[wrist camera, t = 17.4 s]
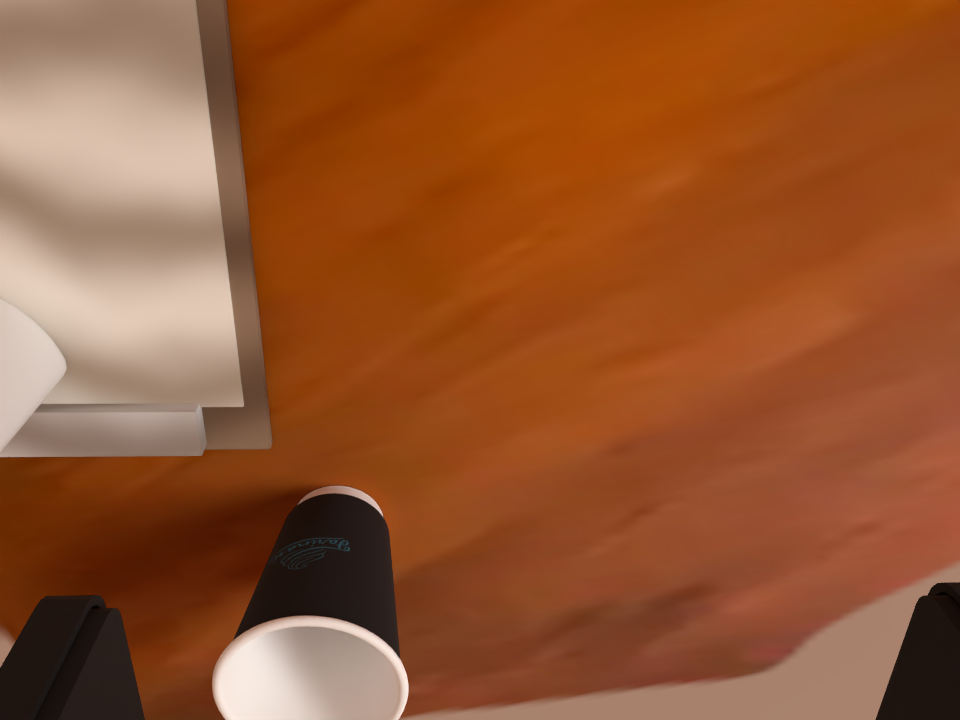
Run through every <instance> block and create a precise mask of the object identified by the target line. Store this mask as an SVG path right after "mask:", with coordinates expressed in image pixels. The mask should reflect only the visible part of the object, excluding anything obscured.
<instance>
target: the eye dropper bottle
mask: <svg viewBox="0 0 960 720" xmlns="http://www.w3.org/2000/svg"><path fill="white" fill-rule="evenodd" d="M66 369H67V366H66V361H65V358H64V356H63V354H62V353H61V351H60V350H59V348H58V347H57V345H56V344H55V343H54V341H53V340H52V339H51V338H50V336H49V335H48V334H47V333H46V332H45V331H44V330H43V329H42V328H41V327H40V326H39V325H38V324H37V323H36V322H35V321H34V320H33V319H31V318H30V317H29V316H28V315H26V314H25V313H24V312H22V311H21V310H19V309H18V308H16V307H15V306H13V305H12V304H10V303H8V302H6V301H4V300H3V299H1V298H0V452H1V451H2V450H3V449H4V447H5V446H6V445H7V444H8V443H9V442H10V441H11V439H12V438H13V437H14V436H15V434H16V433H17V432H18V431H19V430H20V428H21V427H22V426H23V425H24V424H25V422H26V421H27V420H28V419H29V418H30V416H31V415H32V414H33V413H34V412H35V410H36V409H37V408H38V407H39V405H40V404H41V403H42V402H43V401H44V399H45V398H46V397H47V396H48V394H49V393H50V392H51V391H52V390H53V388H54V387H55V386H56V385H57V383H58V382H59V381H60V380H61V378H62V377H63V376H64V374H65V372H66Z"/></svg>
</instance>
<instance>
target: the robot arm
mask: <svg viewBox="0 0 960 720" xmlns="http://www.w3.org/2000/svg"><path fill="white" fill-rule="evenodd" d="M0 720H145V718H144V714H143V709H142V705H141V700H140V696H139V692H138V687H137V683H136V678H135V674H134V670H133V665H132V661H131V657H130V652H129V648H128V643H127V639H126V635H125V630H124V626H123V621H122V617H121V614H120V611H119V610H118V609H117V608H106V605H105V603H104V600H103V599H102V598H101V597H100V596H97V595H85V596H46V597H45V598H43V599H41V601H40V602H39V603H38V605H37V606H36V608H35V609H34V611H33V613H32V614H31V616H30V618H29V620H28V621H27V623H26V625H25V626H24V628H23V630H22V632H21V633H20V635H19V637H18V638H17V640H16V642H15V644H14V645H13V647H12V649H11V651H10V652H9V654H8V656H7V657H6V659H5V661H4V663H3V665H2V666H1V668H0ZM876 720H960V583H937V584H936V585H934V586H933V587H932V588H931V590H930V592H929V593H928V595H927V596H922V597H921V598H919V600H918V601H917V603H916V606H915V609H914V612H913V614H912V617H911V620H910V623H909V626H908V629H907V632H906V635H905V638H904V640H903V643H902V646H901V649H900V652H899V655H898V657H897V660H896V663H895V666H894V669H893V672H892V674H891V677H890V680H889V683H888V686H887V689H886V692H885V694H884V697H883V700H882V703H881V706H880V709H879V711H878V714H877V717H876Z"/></svg>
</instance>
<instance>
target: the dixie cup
mask: <svg viewBox="0 0 960 720" xmlns="http://www.w3.org/2000/svg"><path fill="white" fill-rule="evenodd" d="M212 688H213V695H214V699H215V702H216V705H217V707H218V709H219V711H220V713H221V714H222V716H223V717H224V718H225V720H398V719H399V718H400V716H401V714H402V712H403V710H404V708H405V705H406V702H407V698H408V690H409V689H408V679H407V675H406V672H405V669H404V666H403V664H402V662H401V660H400V652H399V640H398V629H397V618H396V606H395V595H394V583H393V572H392V560H391V549H390V537H389V530H388V526H387V524H386V521H385V520H384V518H383V514H382V511H381V509H380V508H379V506H378V505H377V503H376V502H375V501H374V500H373V499H372V498H371V497H370V496H368V495H367V494H365V493H364V492H362V491H360V490H357V489H354V488H351V487H346V486H327V487H322V488H319V489H316V490H314V491H312V492H310V493H308V494H307V495H306V496H304V497H303V498H302V499H301V500H300V502H299V503H298V504H297V506H296V507H295V508H294V509H293V510H292V511H291V512H290V514H289V515H288V517H287V518H286V520H285V523H284V525H283V527H282V529H281V532H280V534H279V536H278V539H277V541H276V543H275V546H274V548H273V550H272V552H271V555H270V557H269V559H268V562H267V564H266V566H265V568H264V571H263V573H262V575H261V578H260V580H259V582H258V585H257V587H256V589H255V591H254V594H253V596H252V598H251V601H250V603H249V605H248V607H247V610H246V612H245V614H244V617H243V619H242V621H241V624H240V626H239V628H238V630H237V633H236V635H235V637H234V640H233V641H232V642H231V643H230V644H229V645H228V646H227V647H226V649H225V650H224V651H223V653H222V654H221V656H220V657H219V659H218V661H217V663H216V666H215V668H214V673H213V679H212Z"/></svg>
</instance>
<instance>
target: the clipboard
mask: <svg viewBox="0 0 960 720" xmlns="http://www.w3.org/2000/svg"><path fill="white" fill-rule="evenodd" d="M0 298H1V299H3V300H4V301H6V302H8V303H10V304H12V305H13V306H15V307H16V308H18V309H19V310H21V311H22V312H24V313H25V314H26V315H28V316H29V317H30V318H31V319H33V320H34V321H35V322H36V323H37V324H38V325H39V326H40V327H41V328H42V329H43V330H44V331H45V332H46V333H47V334H48V335H49V336H50V338H51V339H52V340H53V341H54V343H55V344H56V345H57V347H58V348H59V350H60V351H61V353H62V354H63V356H64V358H65V361H66V366H67V369H66V372H65V374H64V376H63V377H62V378H61V380H60V381H59V382H58V383H57V385H56V386H55V387H54V388H53V390H52V391H51V392H50V393H49V394H48V396H47V397H46V398H45V399H44V401H43V402H42V403H41V404H40V405H39V407H38V408H37V409H36V410H35V412H34V413H33V414H32V415H31V416H30V418H29V419H28V420H27V421H26V422H25V424H24V425H23V426H22V427H21V428H20V430H19V431H18V432H17V433H16V434H15V436H14V437H13V438H12V439H11V441H10V442H9V443H8V444H7V445H6V446H5V447H4V449H3V450H2V451H1V452H0V457H84V456H202V454H203V452H204V450H205V449H270V448H271V445H272V435H271V425H270V415H269V406H268V396H267V387H266V377H265V367H264V358H263V348H262V339H261V329H260V319H259V310H258V300H257V291H256V281H255V271H254V262H253V252H252V243H251V233H250V223H249V214H248V204H247V194H246V185H245V175H244V166H243V156H242V146H241V137H240V127H239V118H238V108H237V98H236V89H235V79H234V70H233V60H232V50H231V41H230V31H229V22H228V12H227V2H226V0H0Z"/></svg>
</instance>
